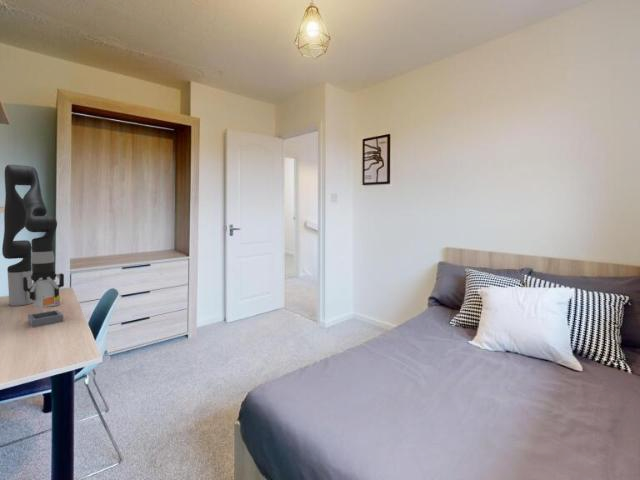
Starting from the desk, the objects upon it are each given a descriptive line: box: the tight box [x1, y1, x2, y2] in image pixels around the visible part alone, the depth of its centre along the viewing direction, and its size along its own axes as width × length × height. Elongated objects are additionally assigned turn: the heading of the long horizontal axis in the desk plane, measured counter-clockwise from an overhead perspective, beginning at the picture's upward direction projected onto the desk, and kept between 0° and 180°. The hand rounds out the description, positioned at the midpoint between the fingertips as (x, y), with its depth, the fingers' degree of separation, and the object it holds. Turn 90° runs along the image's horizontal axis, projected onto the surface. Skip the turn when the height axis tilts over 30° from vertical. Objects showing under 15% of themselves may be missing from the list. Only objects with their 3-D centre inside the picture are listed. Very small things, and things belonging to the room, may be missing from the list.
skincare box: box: [33, 278, 56, 309], centre depth 142 cm, size 6×4×12 cm
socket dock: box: [27, 309, 64, 328], centre depth 143 cm, size 10×10×3 cm
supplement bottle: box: [45, 280, 61, 308], centre depth 167 cm, size 7×7×13 cm
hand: (44, 298), depth 142 cm, fingers closed on skincare box, 7 cm apart
